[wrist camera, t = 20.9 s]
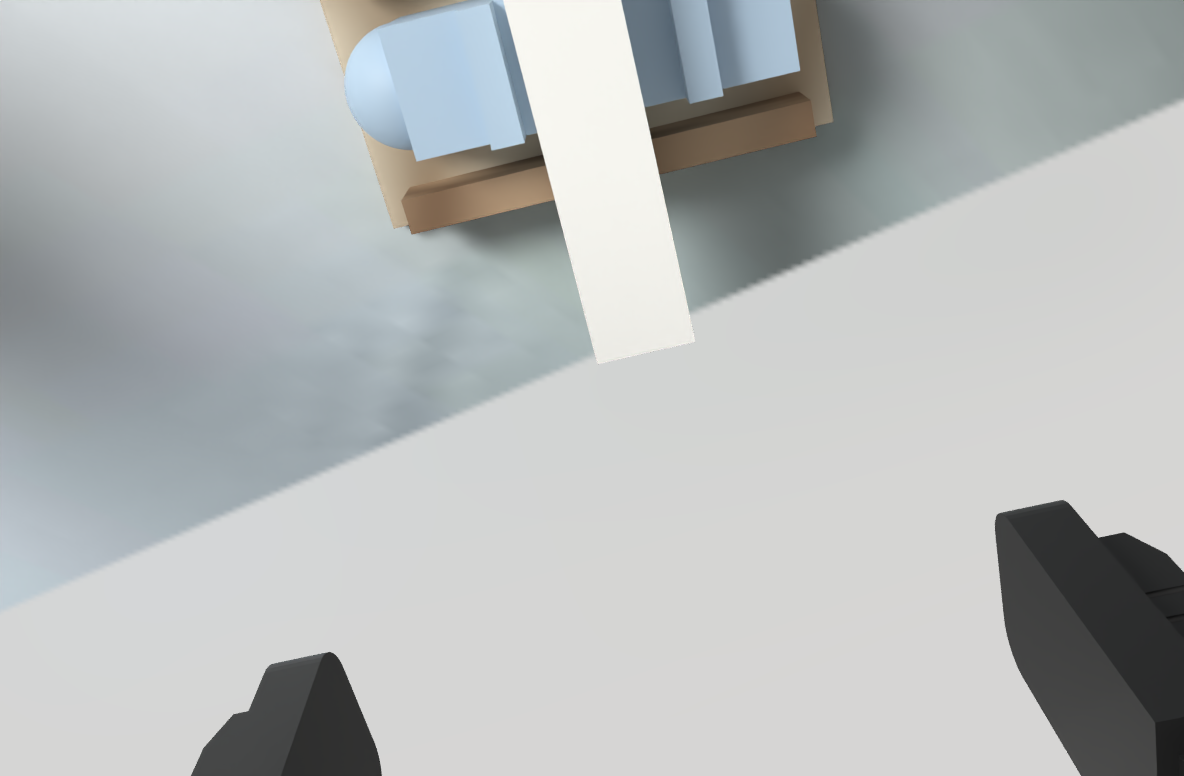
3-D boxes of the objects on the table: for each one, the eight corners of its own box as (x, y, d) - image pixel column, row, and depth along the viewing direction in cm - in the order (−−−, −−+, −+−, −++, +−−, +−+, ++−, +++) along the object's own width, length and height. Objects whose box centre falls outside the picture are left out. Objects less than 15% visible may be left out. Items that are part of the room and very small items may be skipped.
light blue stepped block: (379, 148, 37) (347, 185, 32) (342, 31, 36) (302, 49, 30) (774, 53, 36) (808, 75, 31) (755, -72, 35) (787, -71, 29)
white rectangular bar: (595, 324, 35) (597, 364, 32) (457, -215, 29) (442, -232, 26) (684, 303, 35) (695, 341, 32) (564, -244, 29) (563, -265, 25)
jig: (398, 221, 39) (384, 244, 37) (310, -52, 36) (287, -51, 33) (827, 116, 38) (846, 132, 35) (783, -179, 34) (801, -187, 31)
